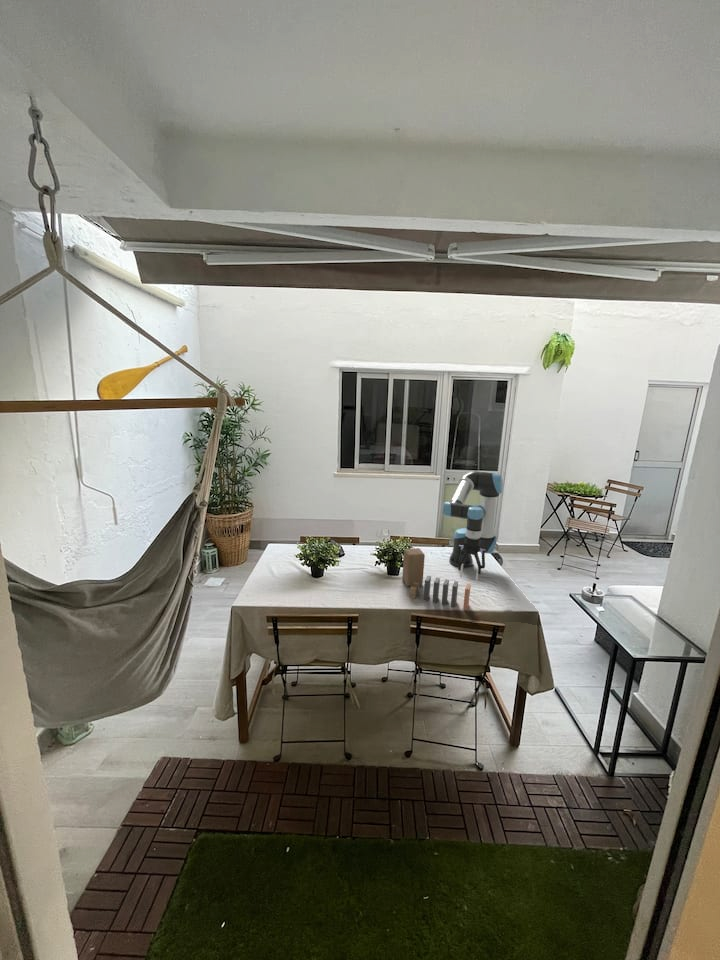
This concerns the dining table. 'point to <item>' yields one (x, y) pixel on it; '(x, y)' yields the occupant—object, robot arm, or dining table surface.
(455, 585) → the domino
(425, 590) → the domino
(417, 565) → the block
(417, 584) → the end stop
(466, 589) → the domino
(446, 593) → the domino
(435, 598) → the domino
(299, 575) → the dining table surface
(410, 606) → the dining table surface
